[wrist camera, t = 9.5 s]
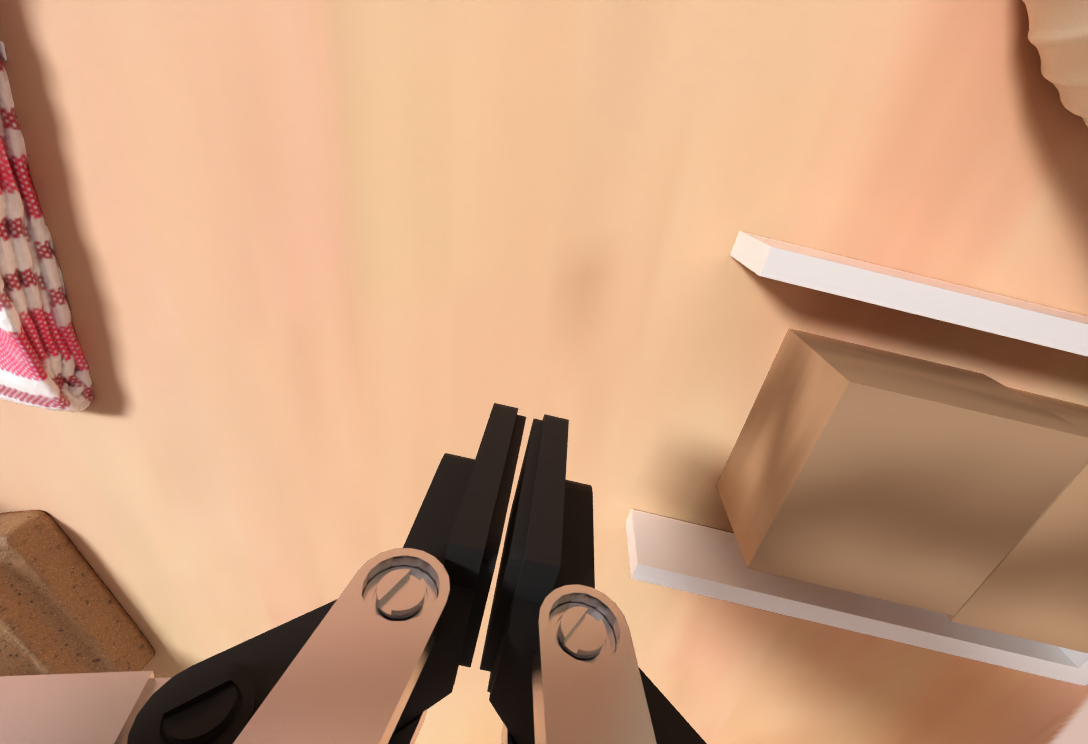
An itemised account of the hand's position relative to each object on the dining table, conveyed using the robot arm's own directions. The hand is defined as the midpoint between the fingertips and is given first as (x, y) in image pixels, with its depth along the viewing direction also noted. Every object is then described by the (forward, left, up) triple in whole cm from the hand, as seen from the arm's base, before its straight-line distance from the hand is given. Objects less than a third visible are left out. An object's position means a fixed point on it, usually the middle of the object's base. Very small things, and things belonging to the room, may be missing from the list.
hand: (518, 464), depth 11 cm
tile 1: (+1, +12, -8) cm, 14 cm away
